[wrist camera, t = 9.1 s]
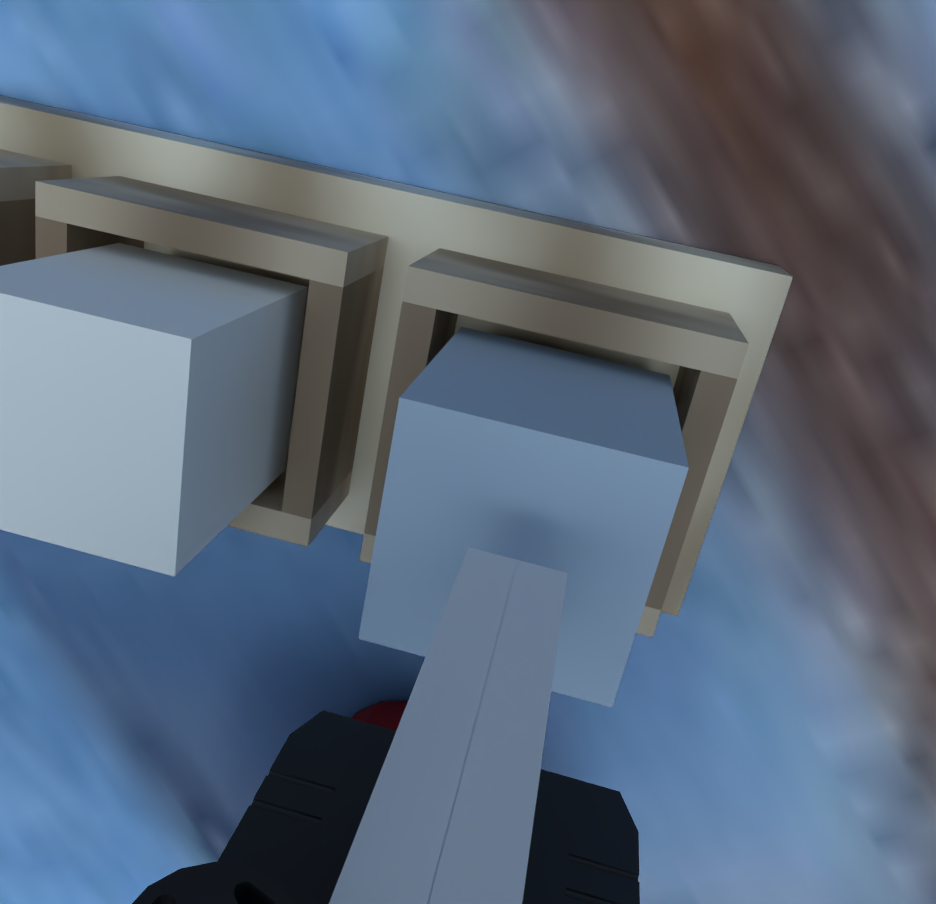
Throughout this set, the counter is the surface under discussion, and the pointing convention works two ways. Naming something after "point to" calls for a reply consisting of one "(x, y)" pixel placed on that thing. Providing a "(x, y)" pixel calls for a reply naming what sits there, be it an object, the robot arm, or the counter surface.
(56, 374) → the ivory key
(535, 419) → the slate key
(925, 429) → the counter surface
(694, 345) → the beige slotted block
